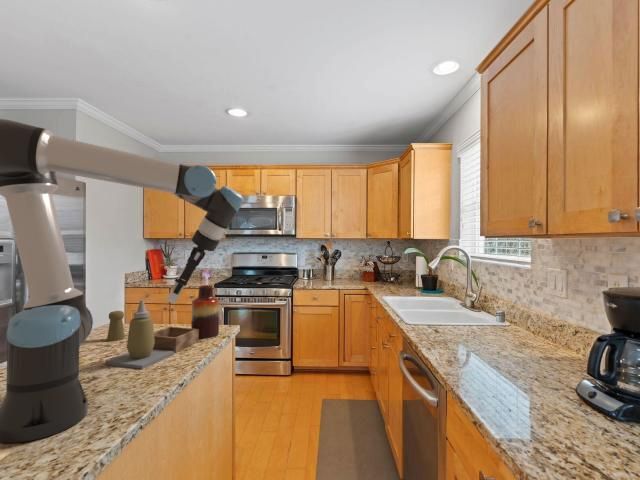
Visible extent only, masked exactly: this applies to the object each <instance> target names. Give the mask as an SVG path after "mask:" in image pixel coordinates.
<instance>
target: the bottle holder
mask: <svg viewBox="0 0 640 480" xmlns="http://www.w3.org/2000/svg"><path fill="white" fill-rule="evenodd" d="M154 340H155V344H154V347H153V349H157V350H166V351H174V354H175V353H178V352H180V351H182V350H184V349H186V348H189V347H192V346H193V345H196V344H198V343H199V342H200V341H199V340H200V339H199V329H191V328H190V327H189V328H188V327H178V326H177V327H176V326H175V327H174V326H169V327H166V328H163V329H160V330H155V331H154Z"/></svg>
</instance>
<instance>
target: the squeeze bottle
mask: <svg viewBox="0 0 640 480" xmlns="http://www.w3.org/2000/svg"><path fill="white" fill-rule="evenodd" d="M150 315H151V314H150V311H149V310H147V309H146V305H145V300H139V304H138V307H137V310H136V311H134V312H133V316H132V317H133V318H132V319H130V321H129V327H128V334H127V341H126V342H127V343H126V349H127V353H128V352H129V354H130V357H131V358H134V359H138V358H145V357H148V356H150V355H151V353H152V350H153V347H154V344H155V340H154V332H155V331H154V322H153V321H154V320H153V318H151V317H150Z"/></svg>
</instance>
